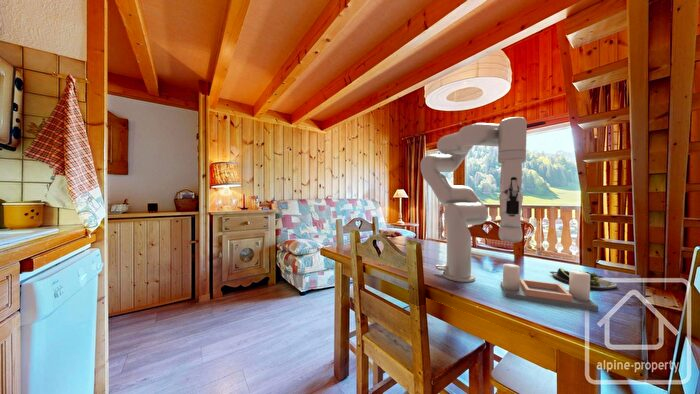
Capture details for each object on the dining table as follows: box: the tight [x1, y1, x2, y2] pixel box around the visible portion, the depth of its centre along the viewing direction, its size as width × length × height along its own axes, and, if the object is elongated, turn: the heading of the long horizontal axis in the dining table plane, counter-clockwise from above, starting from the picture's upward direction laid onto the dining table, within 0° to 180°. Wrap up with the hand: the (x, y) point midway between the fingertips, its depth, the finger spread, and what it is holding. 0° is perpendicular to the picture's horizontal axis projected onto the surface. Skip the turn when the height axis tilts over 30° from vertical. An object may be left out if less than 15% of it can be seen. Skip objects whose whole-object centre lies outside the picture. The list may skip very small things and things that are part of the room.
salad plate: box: [549, 267, 618, 291], centre depth 100 cm, size 19×18×5 cm
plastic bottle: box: [498, 190, 524, 244], centre depth 80 cm, size 6×7×20 cm
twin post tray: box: [500, 263, 599, 312], centre depth 85 cm, size 24×12×10 cm, turn 65°
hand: (510, 212), depth 80 cm, fingers closed on plastic bottle, 6 cm apart
